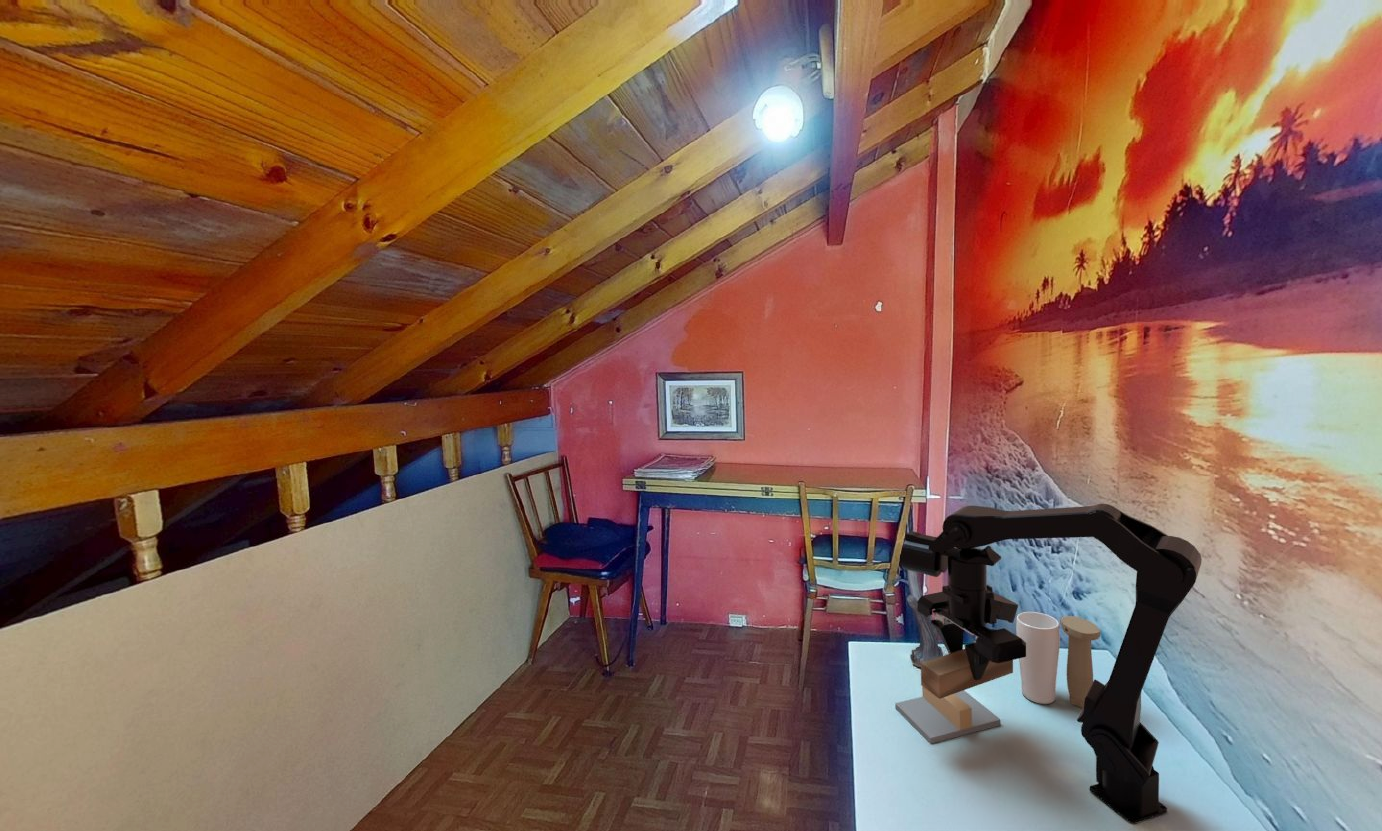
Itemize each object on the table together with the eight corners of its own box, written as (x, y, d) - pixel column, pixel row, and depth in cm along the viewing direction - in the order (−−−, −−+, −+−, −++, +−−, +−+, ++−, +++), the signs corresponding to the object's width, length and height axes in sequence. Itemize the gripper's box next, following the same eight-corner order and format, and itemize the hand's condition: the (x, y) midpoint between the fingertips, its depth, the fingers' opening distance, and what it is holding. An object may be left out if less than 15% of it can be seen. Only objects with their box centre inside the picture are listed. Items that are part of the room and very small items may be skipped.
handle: (1079, 691, 104) (1079, 615, 102) (1106, 713, 98) (1106, 632, 96) (1054, 693, 104) (1054, 617, 102) (1079, 715, 98) (1079, 634, 96)
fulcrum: (1000, 724, 97) (1000, 700, 97) (930, 743, 94) (929, 718, 93) (960, 692, 107) (959, 669, 106) (895, 708, 104) (894, 685, 103)
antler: (951, 671, 114) (948, 552, 111) (912, 673, 114) (908, 555, 111) (929, 641, 125) (925, 533, 122) (894, 643, 125) (889, 536, 123)
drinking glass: (1058, 712, 99) (1058, 632, 97) (1014, 700, 103) (1013, 623, 101) (1061, 692, 104) (1061, 616, 103) (1019, 681, 108) (1018, 608, 107)
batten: (1012, 672, 95) (1013, 650, 94) (939, 698, 89) (939, 675, 89) (992, 660, 99) (992, 639, 98) (921, 685, 93) (920, 662, 93)
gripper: (1056, 598, 85) (1054, 694, 87) (967, 556, 103) (967, 636, 105) (995, 611, 82) (995, 709, 84) (914, 566, 100) (916, 647, 102)
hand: (967, 671), depth 94 cm, fingers closed on batten, 4 cm apart
